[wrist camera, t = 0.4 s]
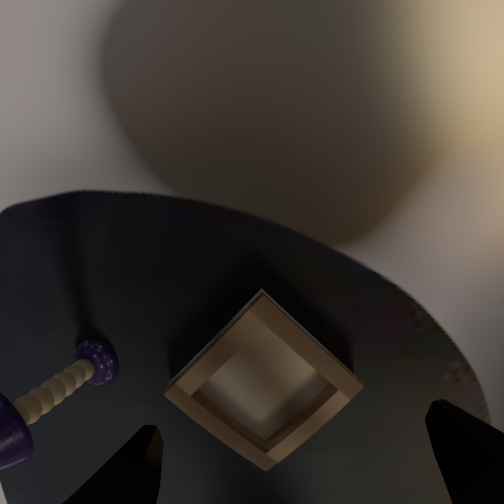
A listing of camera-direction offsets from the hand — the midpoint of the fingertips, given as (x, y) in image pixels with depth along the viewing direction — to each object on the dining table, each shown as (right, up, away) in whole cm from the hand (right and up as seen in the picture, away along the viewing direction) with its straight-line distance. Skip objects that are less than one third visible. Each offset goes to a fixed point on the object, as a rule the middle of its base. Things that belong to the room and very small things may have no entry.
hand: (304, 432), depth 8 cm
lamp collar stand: (-1, -5, +15) cm, 16 cm away
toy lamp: (-15, -4, +15) cm, 22 cm away
